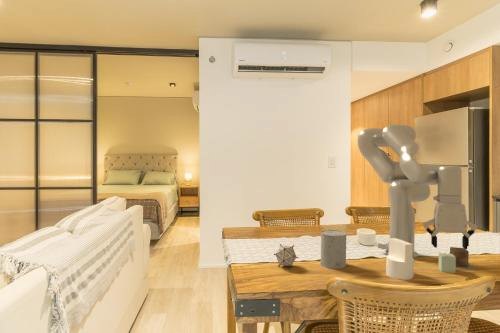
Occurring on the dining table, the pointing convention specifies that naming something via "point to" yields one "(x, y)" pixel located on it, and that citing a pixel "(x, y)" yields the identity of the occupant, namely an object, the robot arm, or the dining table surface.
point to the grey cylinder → (333, 249)
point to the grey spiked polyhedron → (285, 255)
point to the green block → (447, 262)
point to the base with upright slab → (400, 260)
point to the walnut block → (460, 256)
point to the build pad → (467, 267)
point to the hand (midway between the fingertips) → (449, 247)
